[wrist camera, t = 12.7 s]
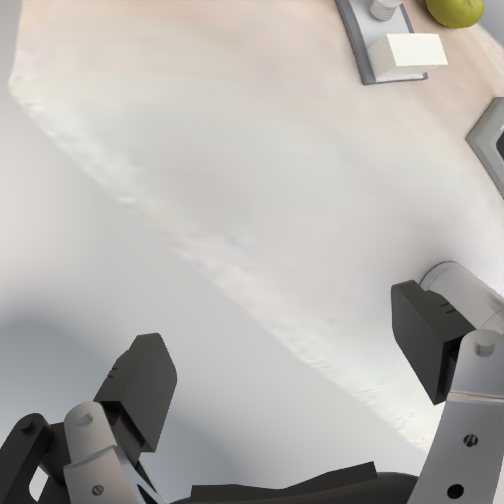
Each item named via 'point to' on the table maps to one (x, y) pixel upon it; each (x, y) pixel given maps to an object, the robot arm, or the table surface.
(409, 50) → the block
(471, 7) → the apple
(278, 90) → the table surface
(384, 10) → the lightbulb
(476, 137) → the grey flat block
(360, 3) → the rail board
